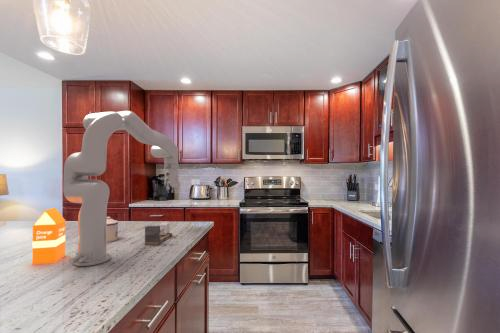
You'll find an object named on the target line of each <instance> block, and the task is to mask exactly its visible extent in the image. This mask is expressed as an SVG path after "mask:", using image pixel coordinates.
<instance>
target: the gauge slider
mask: <svg viewBox="0 0 500 333" xmlns="http://www.w3.org/2000/svg"><path fill="white" fill-rule="evenodd" d="M158 226H160V235H166V234H170V233H171V230H170V229H171V227H170V221H160V223H159V224H158Z"/></svg>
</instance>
